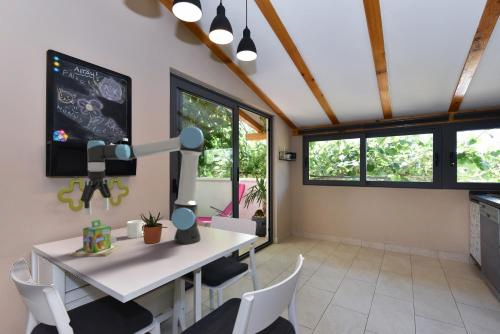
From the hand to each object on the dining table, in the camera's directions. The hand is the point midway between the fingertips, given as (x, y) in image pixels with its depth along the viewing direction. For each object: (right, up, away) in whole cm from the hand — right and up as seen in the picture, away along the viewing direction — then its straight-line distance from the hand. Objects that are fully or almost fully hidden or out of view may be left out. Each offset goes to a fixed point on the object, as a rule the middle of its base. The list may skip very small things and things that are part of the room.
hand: (97, 212), depth 127 cm
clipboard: (0, -20, 0) cm, 20 cm away
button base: (-5, -20, +13) cm, 24 cm away
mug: (+8, -21, +28) cm, 36 cm away
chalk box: (0, -19, 0) cm, 19 cm away
